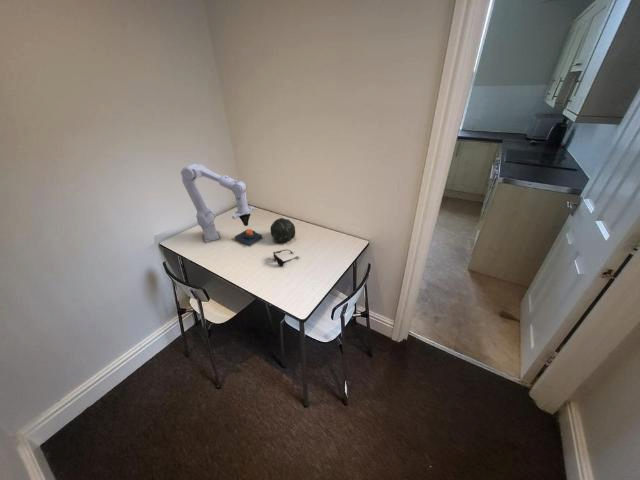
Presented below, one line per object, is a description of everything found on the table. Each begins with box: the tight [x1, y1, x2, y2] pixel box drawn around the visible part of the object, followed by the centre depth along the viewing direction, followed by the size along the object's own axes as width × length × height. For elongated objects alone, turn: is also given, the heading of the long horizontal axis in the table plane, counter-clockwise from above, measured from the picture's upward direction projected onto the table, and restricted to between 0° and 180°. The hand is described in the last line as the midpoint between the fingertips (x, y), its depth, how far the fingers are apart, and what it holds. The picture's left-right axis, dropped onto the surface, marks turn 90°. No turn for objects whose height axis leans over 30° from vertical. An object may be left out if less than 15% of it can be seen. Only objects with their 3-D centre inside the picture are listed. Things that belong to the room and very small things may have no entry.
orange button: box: [245, 228, 254, 235], centre depth 150 cm, size 4×4×2 cm
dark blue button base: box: [234, 228, 263, 247], centre depth 152 cm, size 12×10×4 cm
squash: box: [269, 217, 296, 243], centre depth 150 cm, size 14×15×15 cm
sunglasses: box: [272, 249, 299, 267], centre depth 135 cm, size 11×12×5 cm
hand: (245, 225), depth 147 cm, fingers closed
